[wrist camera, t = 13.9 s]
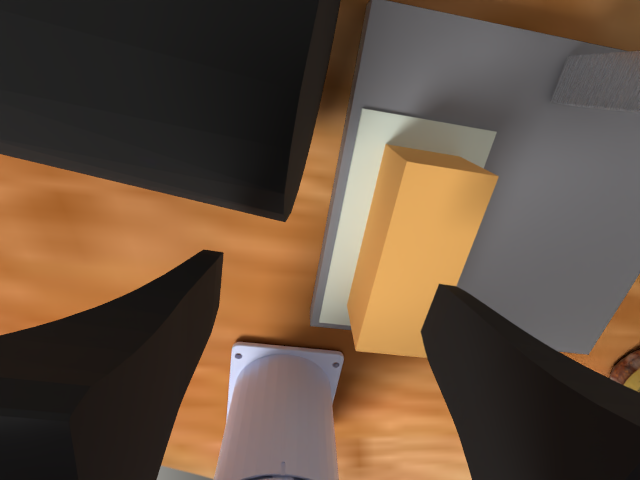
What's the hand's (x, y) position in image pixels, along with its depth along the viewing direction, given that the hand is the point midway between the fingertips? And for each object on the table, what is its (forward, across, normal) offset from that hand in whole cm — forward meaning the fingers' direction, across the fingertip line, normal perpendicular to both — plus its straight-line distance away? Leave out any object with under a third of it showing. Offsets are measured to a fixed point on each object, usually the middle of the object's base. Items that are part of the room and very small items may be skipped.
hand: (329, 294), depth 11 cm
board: (+10, -11, -1) cm, 15 cm away
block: (+8, -5, +1) cm, 10 cm away
